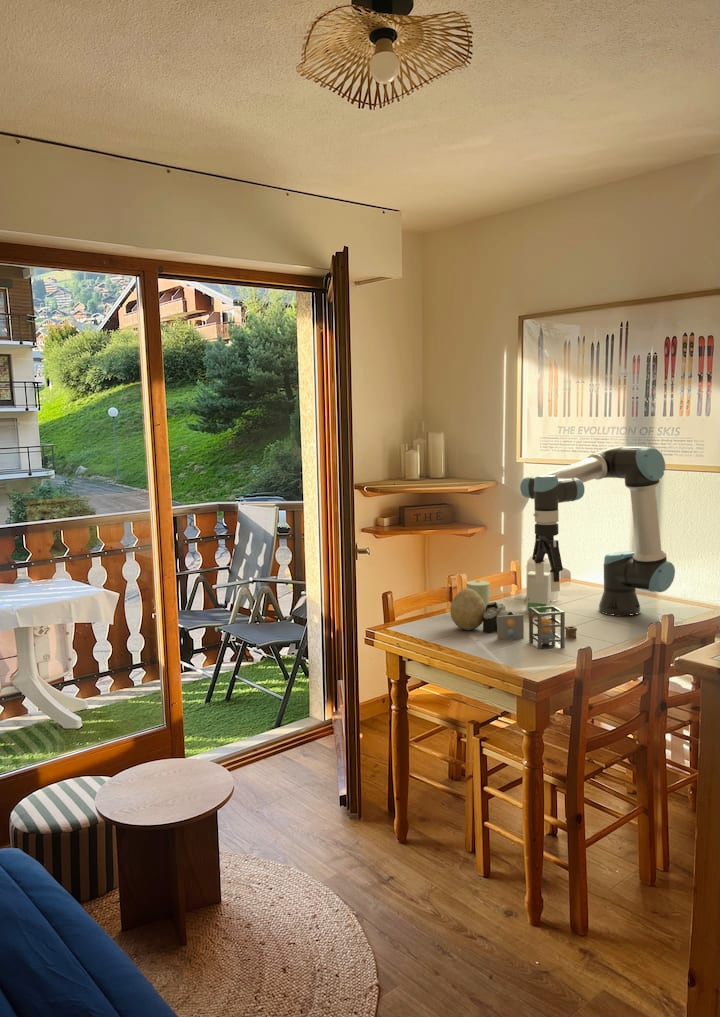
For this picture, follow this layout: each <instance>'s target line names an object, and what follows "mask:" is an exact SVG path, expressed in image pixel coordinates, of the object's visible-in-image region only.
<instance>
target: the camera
mask: <svg viewBox="0 0 720 1017" xmlns="http://www.w3.org/2000/svg"><path fill="white" fill-rule="evenodd" d="M505 615H514V613H513V612H512V611H509V610H508V611H507V610H506V605H504V604H503V603H498V602H496V601H490V603H489V604H487V606H486V612H484V617H483V622H482V632H483V634H484V633H485V634H493V633H494V632H497V616H505Z"/></svg>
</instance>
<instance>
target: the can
mask: <svg viewBox="0 0 720 1017" xmlns="http://www.w3.org/2000/svg"><path fill="white" fill-rule="evenodd" d="M490 583H491V582H490V581H487V580H469V581H467V582H466V589H472V590H474V591H476V592H477V593H478V594H479V595H480V596H481V598H482V599H483V601H484V604H485V607H486V606H487V604H489V603H490V602H491V596H490V595H491V591H490V590H491V587H490V586H491V584H490Z"/></svg>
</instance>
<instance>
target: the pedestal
mask: <svg viewBox="0 0 720 1017" xmlns="http://www.w3.org/2000/svg"><path fill="white" fill-rule="evenodd" d="M577 631H578V628H577V627H575V626H574V625H570V626H569V625H566V626H565V638H567V639H568V640H571V639H572V640H573V639H577Z"/></svg>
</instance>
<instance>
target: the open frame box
mask: <svg viewBox="0 0 720 1017" xmlns="http://www.w3.org/2000/svg"><path fill="white" fill-rule="evenodd" d="M543 609H549V610H551V611H549V612H548V613H539V612H538V611H536V610H543ZM533 612H534V613H535V615H537V618H534V614H533ZM565 614H566V613H565V611H564V610H561V609H560V608H559V607H557V606H555V605H550V606H544V607H529V613H528V628H529V629H528V631H529V632H528V637H529V638H528V640H529V641H528V642H529V643H530V644H531V645H532V646H533V647H535V648H536V649H537V650H538V651H539V650H552V649H553V650H554V649H565V646H566V643H565V642H566V641H565V639H566V629H565V627H566V626H565V625H566V623H565V621H566V619H565V617H566V616H565ZM545 616H546V618H547V619H549V620H550V621H551V622H552V624H548V625H542V618H543V617H545ZM547 616H551V617H547ZM556 616H559V617H560V620H559V619H557V618H556ZM534 626H535V627H536V628H537V627H538V628H537V633H535V632H534ZM548 627H552V630H551V632H552V633H553V639H547V640H542V628H548ZM558 627H560V635H559V634H558V633H556V628H558ZM534 640H535V641H534ZM548 642H551V643H549V644H543V643H548Z"/></svg>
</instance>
